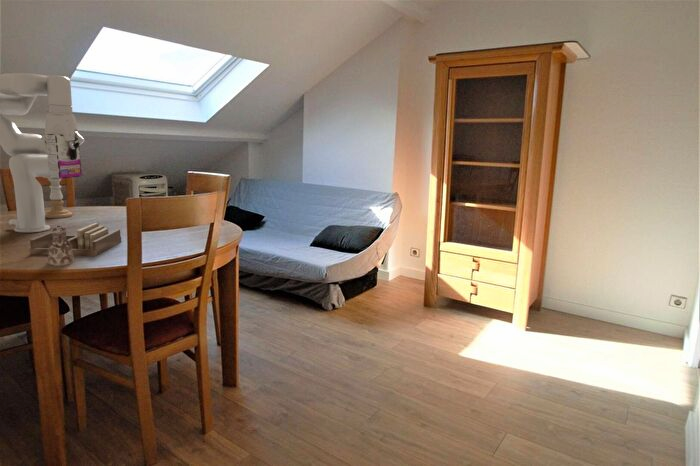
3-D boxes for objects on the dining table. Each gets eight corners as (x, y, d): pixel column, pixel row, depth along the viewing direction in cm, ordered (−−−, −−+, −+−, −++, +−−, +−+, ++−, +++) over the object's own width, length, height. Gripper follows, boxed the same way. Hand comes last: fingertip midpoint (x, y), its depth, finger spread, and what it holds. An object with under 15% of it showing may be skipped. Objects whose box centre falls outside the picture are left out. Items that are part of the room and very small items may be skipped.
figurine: (46, 266, 149) (43, 229, 146) (50, 260, 155) (47, 224, 153) (72, 264, 152) (69, 228, 149) (75, 259, 158) (72, 224, 156)
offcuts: (78, 252, 166) (76, 230, 164) (96, 243, 180) (94, 222, 178) (94, 252, 167) (92, 230, 165) (110, 243, 180) (109, 223, 179)
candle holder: (62, 219, 221) (59, 176, 217) (36, 217, 221) (32, 175, 217) (77, 214, 233) (75, 174, 229) (53, 213, 233) (50, 172, 229)
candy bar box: (71, 175, 185) (68, 133, 182) (82, 176, 184) (79, 134, 181) (48, 178, 175) (44, 133, 171) (59, 179, 174) (56, 134, 170)
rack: (30, 254, 161) (28, 240, 160) (63, 239, 183) (62, 227, 182) (95, 256, 163) (95, 242, 162) (121, 241, 185) (120, 229, 184)
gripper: (30, 108, 170) (34, 158, 174) (80, 111, 171) (83, 161, 175) (42, 109, 177) (46, 157, 181) (89, 112, 179) (92, 159, 183)
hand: (64, 158), depth 178 cm, fingers closed on candy bar box, 5 cm apart
